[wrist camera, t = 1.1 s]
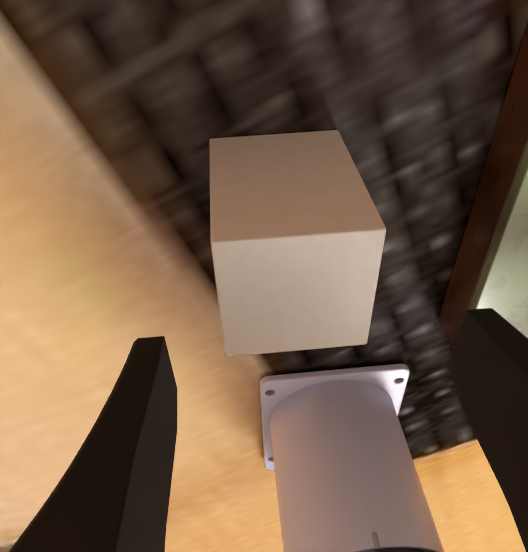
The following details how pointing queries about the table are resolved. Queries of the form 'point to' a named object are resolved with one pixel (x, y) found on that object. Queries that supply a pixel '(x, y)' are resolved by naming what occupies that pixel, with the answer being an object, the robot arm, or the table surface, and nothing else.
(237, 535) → the table surface
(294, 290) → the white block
